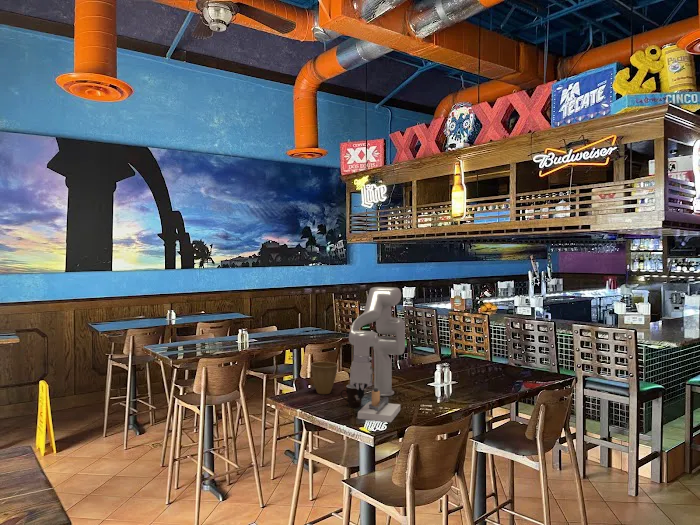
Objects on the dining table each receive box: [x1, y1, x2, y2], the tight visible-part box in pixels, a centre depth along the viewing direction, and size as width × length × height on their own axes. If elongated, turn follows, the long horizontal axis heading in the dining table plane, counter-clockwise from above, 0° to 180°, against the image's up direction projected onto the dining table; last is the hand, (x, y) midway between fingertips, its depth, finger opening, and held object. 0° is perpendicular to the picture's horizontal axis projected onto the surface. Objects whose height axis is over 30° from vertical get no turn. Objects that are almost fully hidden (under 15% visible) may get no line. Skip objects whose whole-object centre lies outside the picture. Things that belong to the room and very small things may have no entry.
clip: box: [375, 396, 389, 411], centre depth 252 cm, size 19×2×3 cm, turn 162°
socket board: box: [357, 400, 401, 423], centre depth 253 cm, size 20×16×3 cm
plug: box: [369, 387, 381, 409], centre depth 253 cm, size 6×6×12 cm
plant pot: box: [310, 361, 339, 395], centre depth 291 cm, size 15×15×16 cm
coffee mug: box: [339, 384, 363, 409], centre depth 267 cm, size 12×9×10 cm
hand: (360, 397), depth 250 cm, fingers closed
